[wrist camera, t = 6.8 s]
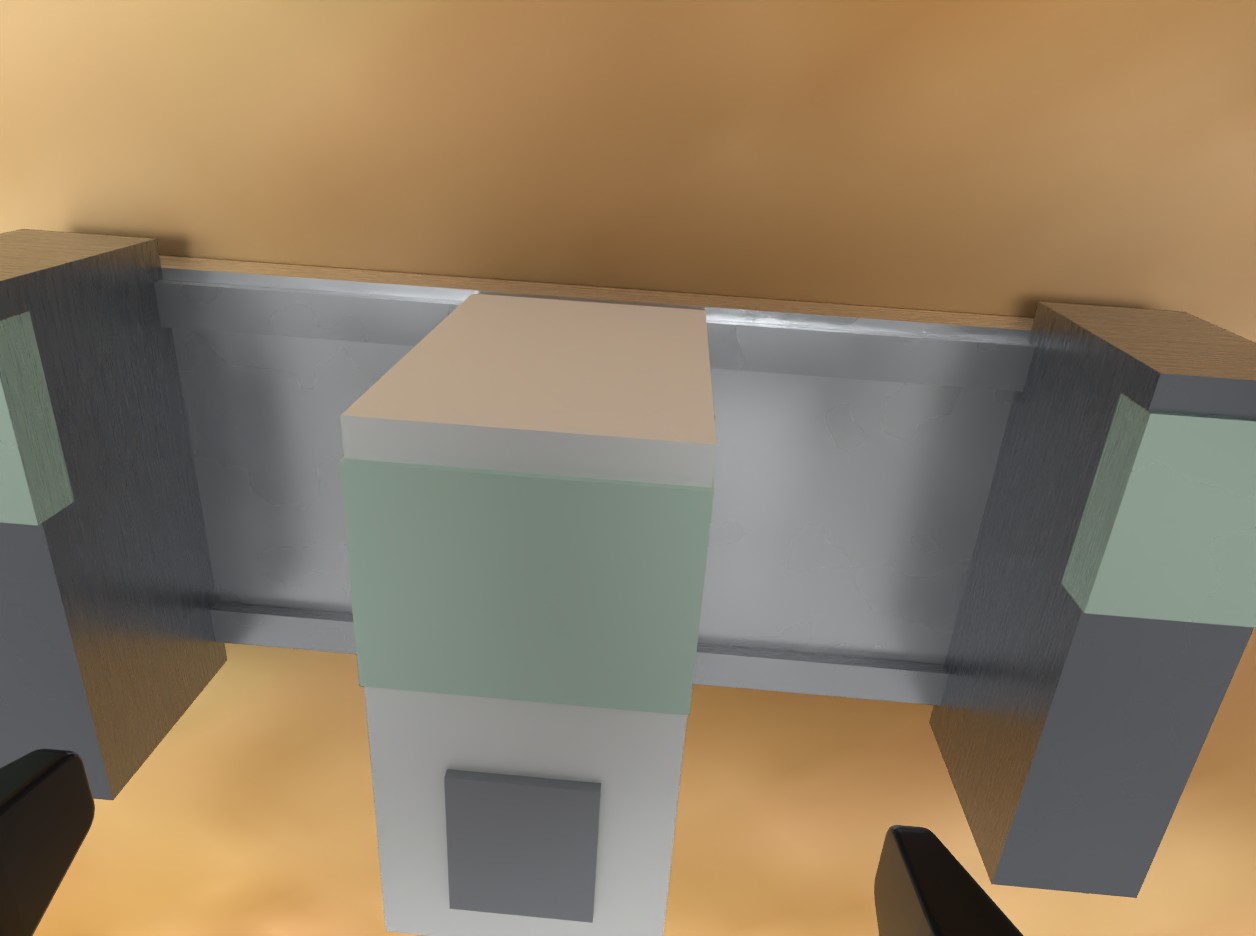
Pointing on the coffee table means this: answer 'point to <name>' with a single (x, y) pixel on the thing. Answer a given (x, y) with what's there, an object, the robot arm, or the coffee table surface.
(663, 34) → the coffee table surface
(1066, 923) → the coffee table surface
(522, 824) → the module
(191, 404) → the rail
